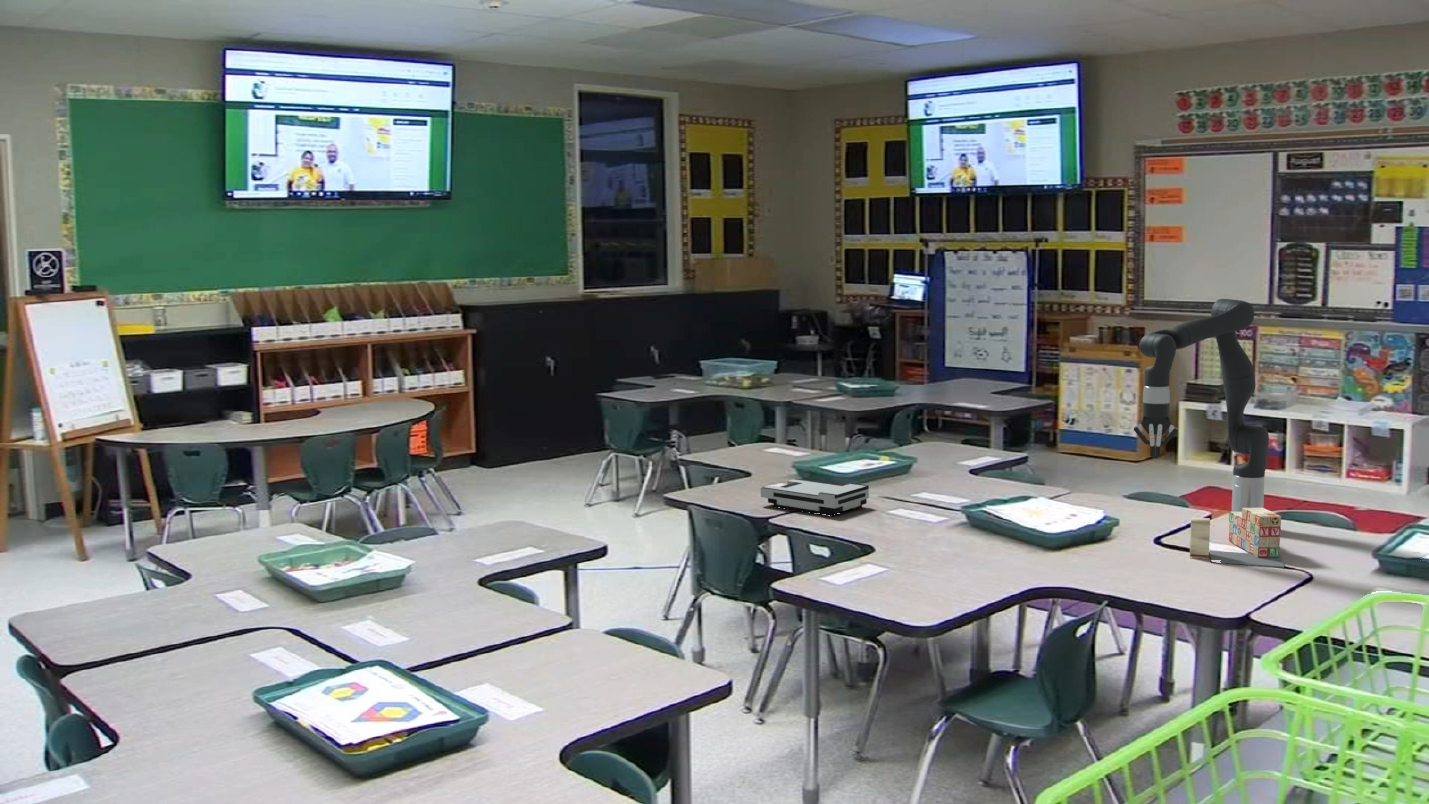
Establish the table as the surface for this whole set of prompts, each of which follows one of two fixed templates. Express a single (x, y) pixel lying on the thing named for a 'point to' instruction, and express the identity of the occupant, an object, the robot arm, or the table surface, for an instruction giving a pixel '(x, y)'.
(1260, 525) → the stack of blocks
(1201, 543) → the maple block
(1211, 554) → the mat
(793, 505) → the gray game console
